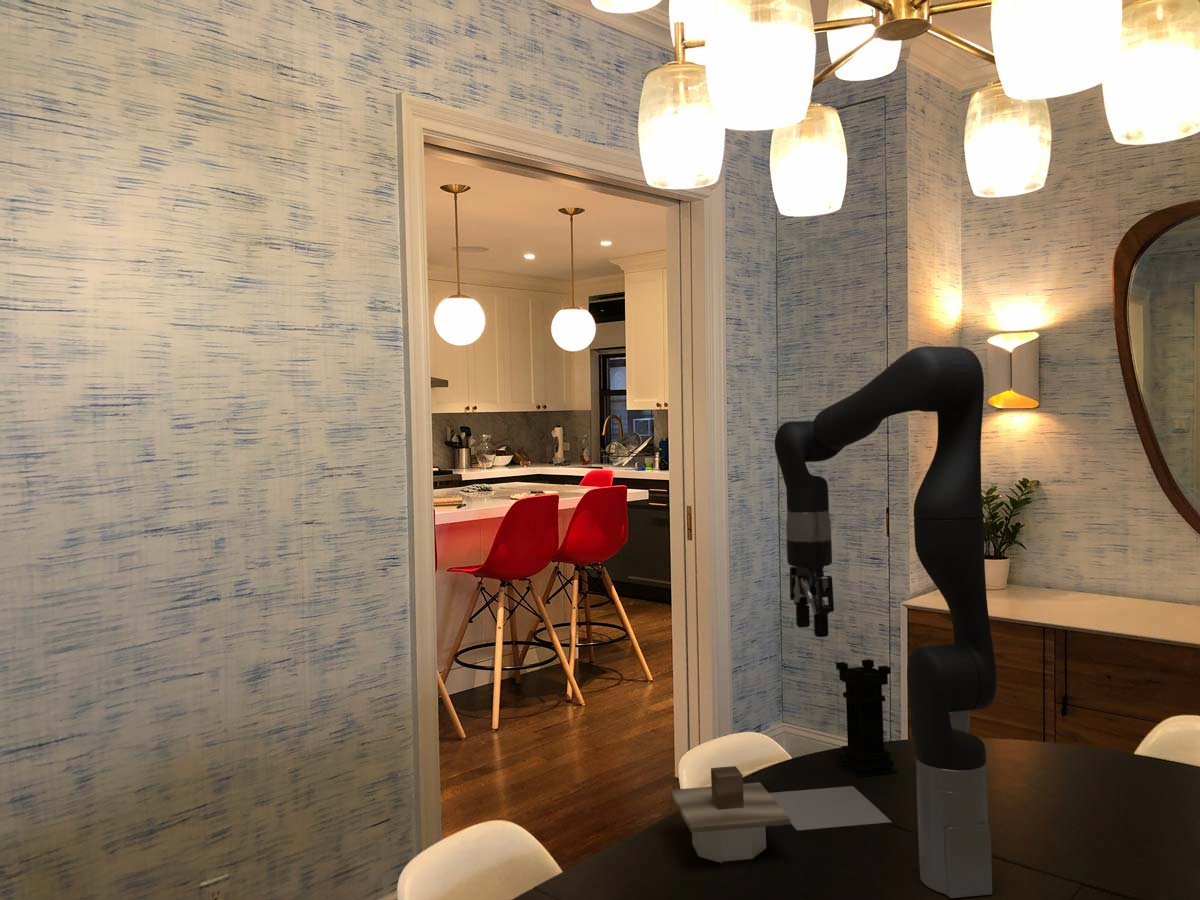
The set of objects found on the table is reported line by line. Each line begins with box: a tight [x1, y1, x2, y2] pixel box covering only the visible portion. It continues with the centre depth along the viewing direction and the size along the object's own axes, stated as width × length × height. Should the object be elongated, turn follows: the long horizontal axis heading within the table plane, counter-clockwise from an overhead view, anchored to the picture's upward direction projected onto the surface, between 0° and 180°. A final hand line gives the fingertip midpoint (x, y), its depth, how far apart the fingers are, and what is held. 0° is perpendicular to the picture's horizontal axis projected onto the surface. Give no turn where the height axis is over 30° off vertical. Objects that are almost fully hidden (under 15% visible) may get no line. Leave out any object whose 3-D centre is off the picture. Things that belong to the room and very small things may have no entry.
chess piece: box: [835, 658, 898, 779], centre depth 172 cm, size 8×8×20 cm
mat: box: [768, 785, 892, 831], centre depth 155 cm, size 16×16×1 cm
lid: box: [670, 765, 792, 834], centre depth 141 cm, size 15×15×6 cm
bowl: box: [691, 826, 767, 864], centre depth 141 cm, size 11×11×6 cm
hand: (812, 631), depth 156 cm, fingers open, 8 cm apart
